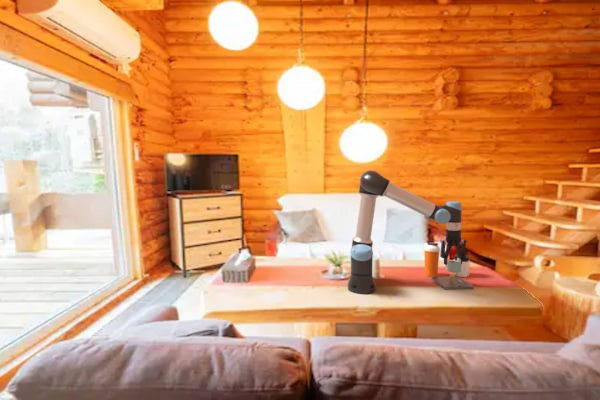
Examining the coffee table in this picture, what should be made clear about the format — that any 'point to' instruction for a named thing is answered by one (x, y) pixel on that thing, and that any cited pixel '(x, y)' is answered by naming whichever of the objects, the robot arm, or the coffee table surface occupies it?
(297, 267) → the coffee table surface
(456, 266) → the teal open box
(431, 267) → the shaker bottle
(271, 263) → the coffee table surface
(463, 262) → the jar
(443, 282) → the hub plate
